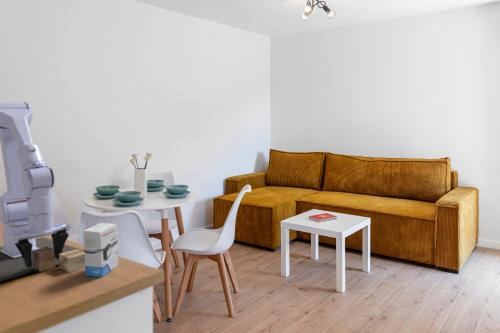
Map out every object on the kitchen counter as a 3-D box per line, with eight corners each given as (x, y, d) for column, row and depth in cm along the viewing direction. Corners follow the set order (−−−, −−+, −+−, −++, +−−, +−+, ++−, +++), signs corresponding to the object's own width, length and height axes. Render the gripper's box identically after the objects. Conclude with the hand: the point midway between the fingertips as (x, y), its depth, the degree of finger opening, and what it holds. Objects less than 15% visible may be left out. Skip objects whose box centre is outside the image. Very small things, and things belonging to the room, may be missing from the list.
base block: (59, 268, 107) (59, 254, 106) (77, 263, 111) (76, 249, 110) (69, 273, 104) (68, 258, 103) (87, 267, 108) (86, 253, 107)
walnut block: (32, 268, 107) (31, 250, 106) (47, 264, 110) (46, 246, 109) (39, 272, 104) (38, 253, 104) (55, 267, 107) (54, 249, 107)
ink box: (102, 277, 101) (100, 232, 99) (84, 276, 102) (82, 231, 100) (119, 265, 109) (117, 223, 108) (103, 263, 110) (101, 222, 108)
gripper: (18, 221, 97) (21, 274, 99) (74, 209, 108) (77, 258, 110) (5, 216, 101) (9, 268, 103) (61, 206, 113) (63, 252, 114)
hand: (43, 262), depth 107 cm, fingers open, 7 cm apart
